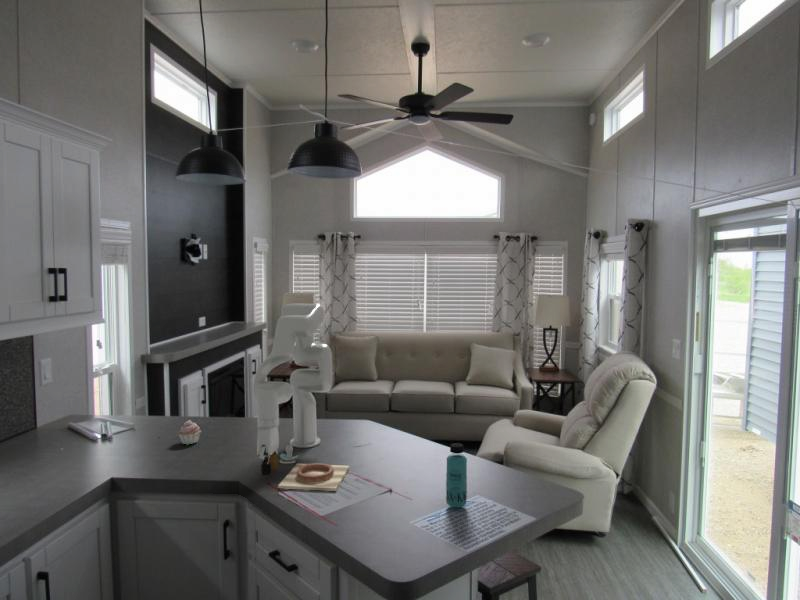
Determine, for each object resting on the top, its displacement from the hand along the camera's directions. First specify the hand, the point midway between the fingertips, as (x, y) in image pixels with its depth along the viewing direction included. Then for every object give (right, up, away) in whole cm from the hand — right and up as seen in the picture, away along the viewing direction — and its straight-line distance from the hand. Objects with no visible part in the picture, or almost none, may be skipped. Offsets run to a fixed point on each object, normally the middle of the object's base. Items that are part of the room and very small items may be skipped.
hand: (269, 470), depth 193 cm
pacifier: (+4, -1, +14) cm, 15 cm away
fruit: (0, -1, 0) cm, 1 cm away
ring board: (+17, -2, -3) cm, 17 cm away
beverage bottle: (+64, -4, -26) cm, 69 cm away
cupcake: (-43, 0, +36) cm, 56 cm away
